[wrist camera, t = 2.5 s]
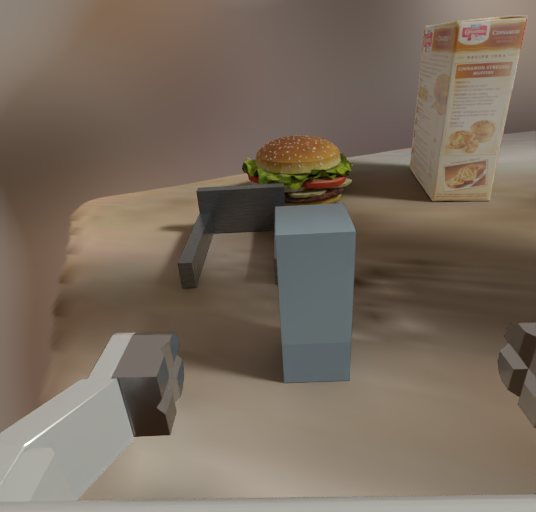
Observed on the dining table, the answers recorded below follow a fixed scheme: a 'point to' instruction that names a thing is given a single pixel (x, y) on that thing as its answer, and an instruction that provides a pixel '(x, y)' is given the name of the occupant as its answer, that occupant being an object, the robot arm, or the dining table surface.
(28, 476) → the robot arm
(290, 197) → the food
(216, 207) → the rail channel
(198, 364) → the dining table surface
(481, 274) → the dining table surface
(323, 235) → the pale blue rectangular prism
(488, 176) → the coffeecake box
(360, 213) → the dining table surface
